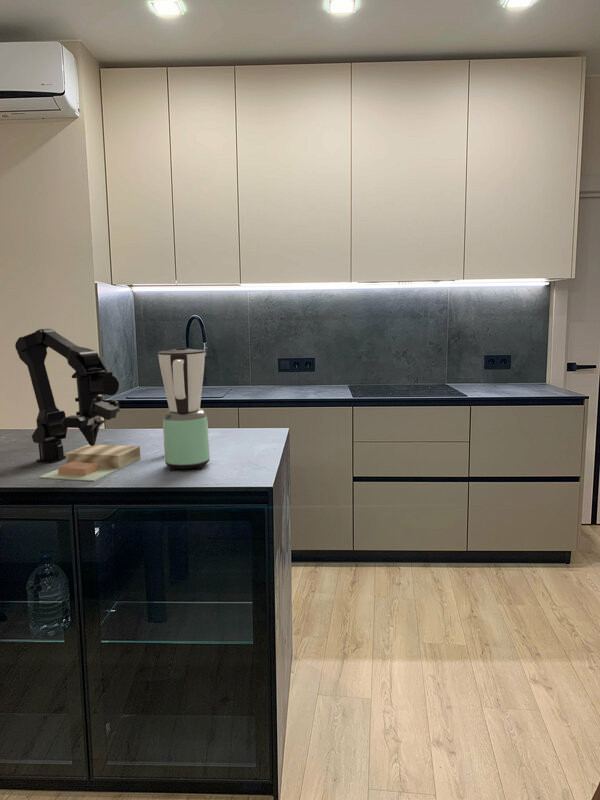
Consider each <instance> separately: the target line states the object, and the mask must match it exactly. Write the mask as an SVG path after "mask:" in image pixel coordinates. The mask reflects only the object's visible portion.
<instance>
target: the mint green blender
mask: <svg viewBox="0 0 600 800" xmlns="http://www.w3.org/2000/svg"><path fill="white" fill-rule="evenodd" d="M205 353H206V350H204V349H194V348H193V349H192V348H188V347H175V348H174V349H170V350H161V351H158V352H157V355H158V362H159V363H158V364H159V368H160V372H161V378H162V383H163V387H164V392H165V398H166V401H167V404H168V405H167V406H168V409H169V410H167V411H166V412H164V416H163V417H162V418H163V421H162V427H163V432H162V433H163V448H164V449H163V451H164V462H165V465H166V466H167V467H168V468H169V471H170V472H175V471H177V470H178V469H180V470H181V469H193V468H195V469H196V470H197V471H200V470H201V471H202V470H204V466H205V465H207V464H208V463H209V462H210V459H211V455H210V443H209V441H210V440H209V438H210V437H209V423H208V417H207V413H206V412H205V410H204V409H203V408H201V401H202V393H203V382H204V381H203V380H204V373H205V359H206V358H205V355H206V354H205Z"/></svg>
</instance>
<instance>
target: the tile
mask: <svg viewBox="0 0 600 800" xmlns="http://www.w3.org/2000/svg"><path fill="white" fill-rule="evenodd" d="M57 469H58V474H64V475H80V476H86V475H89V474H91V473H93V472H95V471H97V470H98V463H80V462H70V463H67V462H66V464H62V465H60V466H58V467H57Z"/></svg>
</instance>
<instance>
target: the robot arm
mask: <svg viewBox="0 0 600 800" xmlns="http://www.w3.org/2000/svg"><path fill="white" fill-rule="evenodd" d="M14 345H15V346H14V347H15V350H16V352H17V355H18V357H19V360H21V362H22V363H23V364H25V365H26V366H27V369H28V373H29V377H30V381H31V385H32V388H33V392H34V397H35V399H36V403H37V407H38V414H37V417H36V421H35V422H36V428H35V430H34V431H33V433H32V435H31V438H32V441H33V443H35V444H38V453H39V458H38V459H36V462H46V463H55V462H58V461H60V460H63V459H66V455H65V452H64V445H63V443H62V442H63V441H62V440H64V439H66V438H67V432H68V429H69V428H71V429H72V428H73V429H79V431H80V432H81V433H82V435H83V437H84V439H85V440H86V441H87V443H88V445H90V446H94V445H95V444H96V442H97V437H98V433H99V429H100V427H101V426H102V425H103V424H104V423H105V422H106V421H109V420H110V421H111V420H112V419H116V418H117V415H118V414H117V413H119V412H121V410H120V403H119V401H117V400H115V399H113V400H111V401H110V402H109V401H108V402H106V401H104V398H103V396H110V397H111V396H114V395H116V394H117V393H118V391H119V388H120V382H119V380H118V379H117V377H116V376H114V375H113V372H112V371H111V370H109V371H108V370H107V367H106V366H105V365H104V363H103V361H102V359H101V357H100V356H99V353H98V352H97V351H96V350H94V349H91V348H88V347H82V346H79V345H77V344H75V343H74V342H72V341H71V340H68V339H67V338H65V337H64V336H62V335H61V334H59V333H58V332H57V331H56V330H55V329H53V328H39V329H37V330H36V331H34V332H31V333H29V334H27V335H24V336H19V337H18V339H17V340H16V341H15V344H14ZM47 348H50V349H51V350H53V351H55V352H56V353H58V354H59V355H60V356H62V357H63V358H65V359H66V360H67V364H68V366H70V368H72V369H73V370H74V371H75V372H74V373H73V374H72V375H71V376H70V377H71V378H72V379H76V389H77V397H75V398H74V401H75V402H77V403H78V411H76V413H75V415H68V416H67V415H66V412H65V411H64V410H60V409H59V408H58V407H57V404H56V402H55V398H54V395H53V390H52V387H51V383H50V379H49V375H48V371H47V368H46V364H45V362H46V359H47V356H48V350H47ZM102 418H103V419H102Z"/></svg>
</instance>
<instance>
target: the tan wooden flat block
mask: <svg viewBox="0 0 600 800" xmlns="http://www.w3.org/2000/svg"><path fill="white" fill-rule="evenodd" d="M65 456H66V458H65V459H66V460H65V461H66V464H67V463H70V462H80V463H98V467H100V468H118V469H119V470H120V469H123V468H125V467H127V466H129V465H131V464H133V463H136V462H137V461H139V460H141V446H139V445H116V444H96V443H95V445H94V446H90V445H89V444H87V445H84V446H81V447H79V448H76V449H74V450H70V451H68V452H66V453H65Z"/></svg>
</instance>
